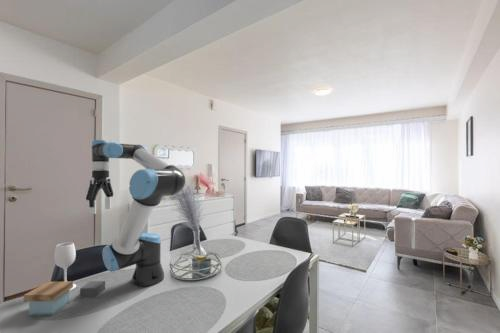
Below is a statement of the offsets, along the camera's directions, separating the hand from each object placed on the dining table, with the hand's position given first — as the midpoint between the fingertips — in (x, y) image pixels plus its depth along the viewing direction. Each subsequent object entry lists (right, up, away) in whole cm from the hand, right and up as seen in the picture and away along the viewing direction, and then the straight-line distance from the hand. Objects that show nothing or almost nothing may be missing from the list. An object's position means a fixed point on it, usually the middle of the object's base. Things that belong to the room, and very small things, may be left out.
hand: (100, 211), depth 128 cm
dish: (-4, -35, -27) cm, 44 cm away
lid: (-4, -29, -27) cm, 40 cm away
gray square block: (+6, -35, -15) cm, 38 cm away
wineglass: (-11, -35, -10) cm, 38 cm away
